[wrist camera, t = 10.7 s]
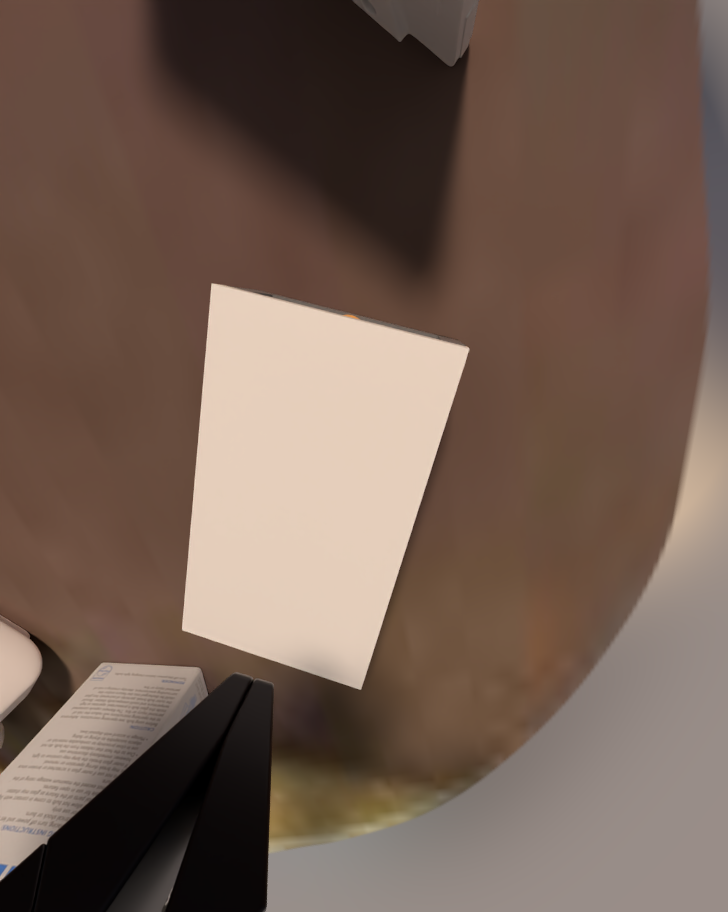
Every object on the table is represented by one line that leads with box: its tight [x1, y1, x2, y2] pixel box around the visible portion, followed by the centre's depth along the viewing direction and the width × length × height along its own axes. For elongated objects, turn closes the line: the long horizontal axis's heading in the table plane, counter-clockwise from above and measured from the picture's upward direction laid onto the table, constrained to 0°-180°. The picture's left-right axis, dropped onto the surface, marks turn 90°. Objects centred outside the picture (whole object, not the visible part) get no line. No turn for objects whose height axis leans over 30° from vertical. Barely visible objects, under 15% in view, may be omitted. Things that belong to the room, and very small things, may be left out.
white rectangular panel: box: [182, 283, 469, 690], centre depth 15 cm, size 8×14×1 cm, turn 167°
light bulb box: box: [0, 662, 208, 912], centre depth 20 cm, size 11×7×11 cm, turn 5°
